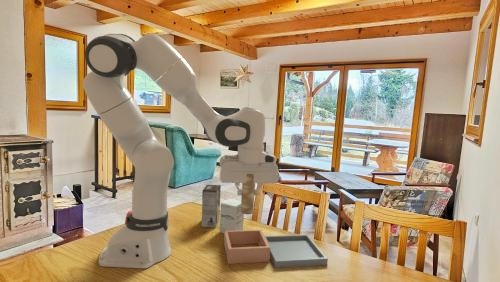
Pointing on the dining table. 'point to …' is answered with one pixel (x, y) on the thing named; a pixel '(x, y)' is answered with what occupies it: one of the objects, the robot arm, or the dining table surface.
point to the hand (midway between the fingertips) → (248, 194)
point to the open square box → (246, 252)
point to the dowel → (248, 195)
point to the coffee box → (211, 205)
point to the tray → (295, 251)
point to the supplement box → (231, 216)
